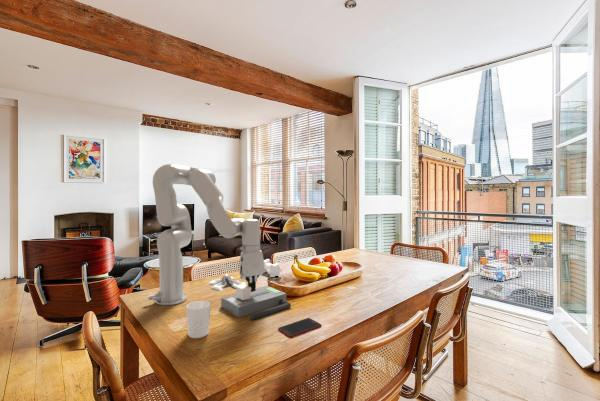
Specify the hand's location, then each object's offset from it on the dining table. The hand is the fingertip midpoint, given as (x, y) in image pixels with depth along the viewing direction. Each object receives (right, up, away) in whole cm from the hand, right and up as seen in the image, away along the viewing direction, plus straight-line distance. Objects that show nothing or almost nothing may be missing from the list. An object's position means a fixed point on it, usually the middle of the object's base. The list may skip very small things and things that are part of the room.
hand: (251, 290), depth 128 cm
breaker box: (+1, -6, +1) cm, 6 cm away
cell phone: (+21, -8, -20) cm, 30 cm away
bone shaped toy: (+3, -5, +46) cm, 47 cm away
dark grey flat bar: (+8, -7, -6) cm, 12 cm away
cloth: (-18, -6, +29) cm, 34 cm away
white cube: (-3, -2, -3) cm, 5 cm away
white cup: (-14, -7, -25) cm, 30 cm away
